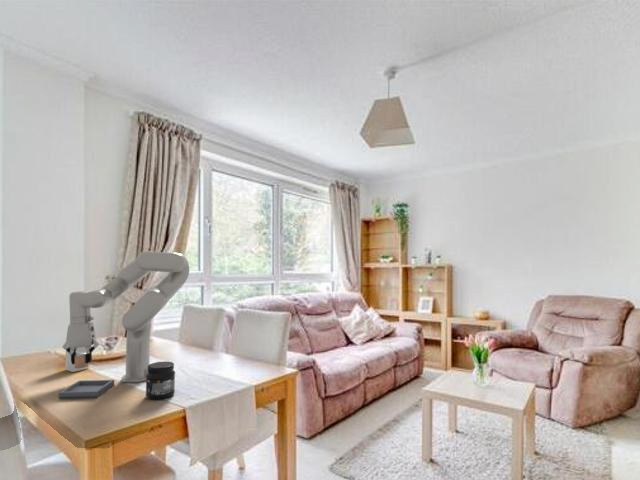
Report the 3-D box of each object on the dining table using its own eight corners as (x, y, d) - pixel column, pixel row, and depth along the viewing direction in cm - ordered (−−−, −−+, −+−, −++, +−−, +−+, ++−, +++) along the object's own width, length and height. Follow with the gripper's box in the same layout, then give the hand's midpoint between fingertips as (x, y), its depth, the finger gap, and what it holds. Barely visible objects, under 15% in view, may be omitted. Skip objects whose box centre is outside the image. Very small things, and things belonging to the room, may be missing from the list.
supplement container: (153, 390, 154) (153, 360, 155) (179, 391, 154) (179, 361, 154) (140, 400, 144) (140, 368, 144) (167, 401, 143) (168, 368, 144)
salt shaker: (90, 364, 167) (90, 351, 167) (84, 367, 162) (84, 354, 162) (78, 365, 166) (78, 352, 166) (72, 368, 161) (71, 355, 162)
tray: (114, 385, 160) (114, 379, 160) (97, 398, 146) (97, 391, 146) (79, 386, 159) (79, 380, 159) (58, 399, 145) (58, 392, 145)
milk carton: (88, 368, 184) (89, 328, 184) (72, 372, 178) (73, 331, 178) (81, 366, 187) (82, 327, 188) (65, 370, 181) (66, 329, 182)
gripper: (105, 317, 169) (106, 359, 169) (64, 319, 168) (65, 361, 167) (96, 320, 162) (97, 364, 161) (54, 323, 160) (55, 366, 160)
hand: (81, 362), depth 164 cm, fingers closed on salt shaker, 5 cm apart
